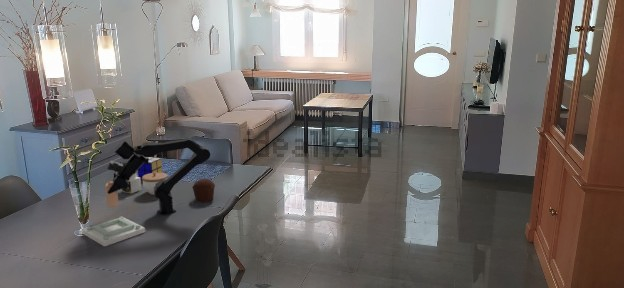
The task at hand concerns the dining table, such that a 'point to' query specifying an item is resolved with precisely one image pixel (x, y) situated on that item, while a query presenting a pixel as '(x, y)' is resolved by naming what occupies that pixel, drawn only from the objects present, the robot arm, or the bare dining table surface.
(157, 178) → the lidded bowl
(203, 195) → the muffin
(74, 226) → the dining table surface
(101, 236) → the base plate
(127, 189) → the medicine bottle
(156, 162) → the puzzle cube
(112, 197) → the tall brick
